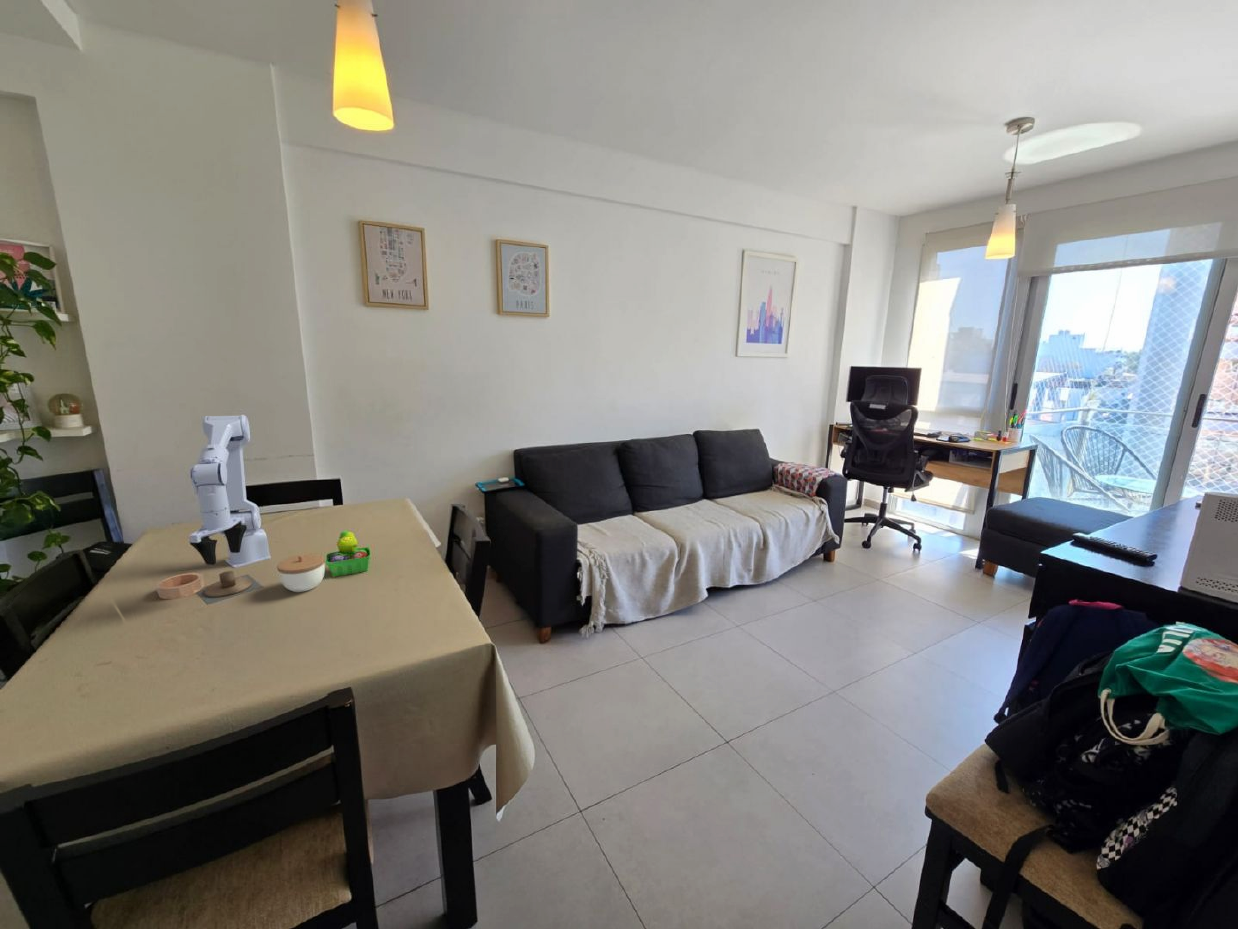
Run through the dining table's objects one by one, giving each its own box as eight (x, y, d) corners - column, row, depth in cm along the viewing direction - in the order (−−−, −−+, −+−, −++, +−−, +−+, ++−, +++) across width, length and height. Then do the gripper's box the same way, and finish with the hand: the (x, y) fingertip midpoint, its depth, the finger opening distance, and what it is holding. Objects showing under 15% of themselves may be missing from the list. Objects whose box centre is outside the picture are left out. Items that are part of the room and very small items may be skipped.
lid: (244, 576, 139) (242, 562, 138) (257, 587, 133) (255, 572, 132) (199, 589, 131) (196, 574, 130) (211, 601, 125) (208, 586, 124)
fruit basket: (327, 579, 139) (322, 542, 136) (328, 567, 146) (324, 531, 144) (372, 572, 144) (368, 536, 141) (371, 560, 152) (368, 526, 149)
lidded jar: (336, 584, 136) (332, 552, 134) (297, 601, 127) (292, 567, 125) (311, 576, 141) (307, 545, 139) (272, 592, 131) (266, 559, 129)
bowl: (198, 580, 136) (196, 570, 136) (208, 590, 131) (206, 579, 130) (155, 592, 129) (153, 581, 129) (164, 603, 124) (161, 592, 123)
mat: (247, 575, 140) (247, 574, 140) (263, 588, 133) (263, 587, 133) (194, 591, 131) (193, 589, 131) (208, 605, 124) (207, 604, 124)
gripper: (224, 500, 134) (232, 546, 137) (173, 517, 120) (183, 569, 123) (248, 501, 134) (256, 547, 137) (201, 518, 119) (210, 570, 123)
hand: (223, 558), depth 130 cm, fingers open, 7 cm apart
